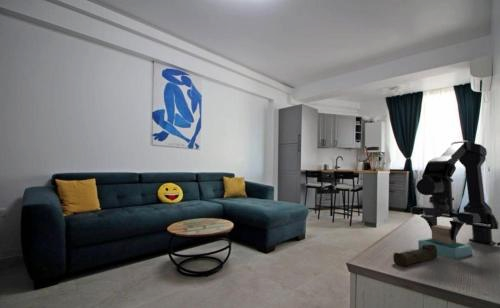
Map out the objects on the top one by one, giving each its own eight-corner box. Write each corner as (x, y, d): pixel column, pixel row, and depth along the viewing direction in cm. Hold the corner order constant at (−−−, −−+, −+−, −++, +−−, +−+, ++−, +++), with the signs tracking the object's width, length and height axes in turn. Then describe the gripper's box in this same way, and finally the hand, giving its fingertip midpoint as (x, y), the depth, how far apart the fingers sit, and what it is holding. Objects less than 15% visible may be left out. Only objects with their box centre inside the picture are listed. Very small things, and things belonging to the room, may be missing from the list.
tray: (435, 244, 88) (434, 237, 88) (472, 254, 78) (471, 245, 79) (418, 248, 84) (418, 240, 84) (455, 259, 74) (455, 249, 74)
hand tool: (405, 269, 66) (405, 253, 66) (392, 264, 69) (392, 248, 70) (446, 261, 72) (445, 246, 73) (432, 257, 76) (432, 242, 76)
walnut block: (439, 238, 85) (438, 224, 85) (456, 242, 80) (455, 227, 80) (432, 239, 82) (431, 225, 83) (448, 243, 78) (448, 229, 78)
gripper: (401, 192, 88) (403, 233, 86) (463, 198, 71) (466, 249, 70) (418, 192, 92) (420, 231, 91) (479, 196, 75) (483, 244, 74)
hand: (443, 238), depth 81 cm, fingers closed on walnut block, 5 cm apart
